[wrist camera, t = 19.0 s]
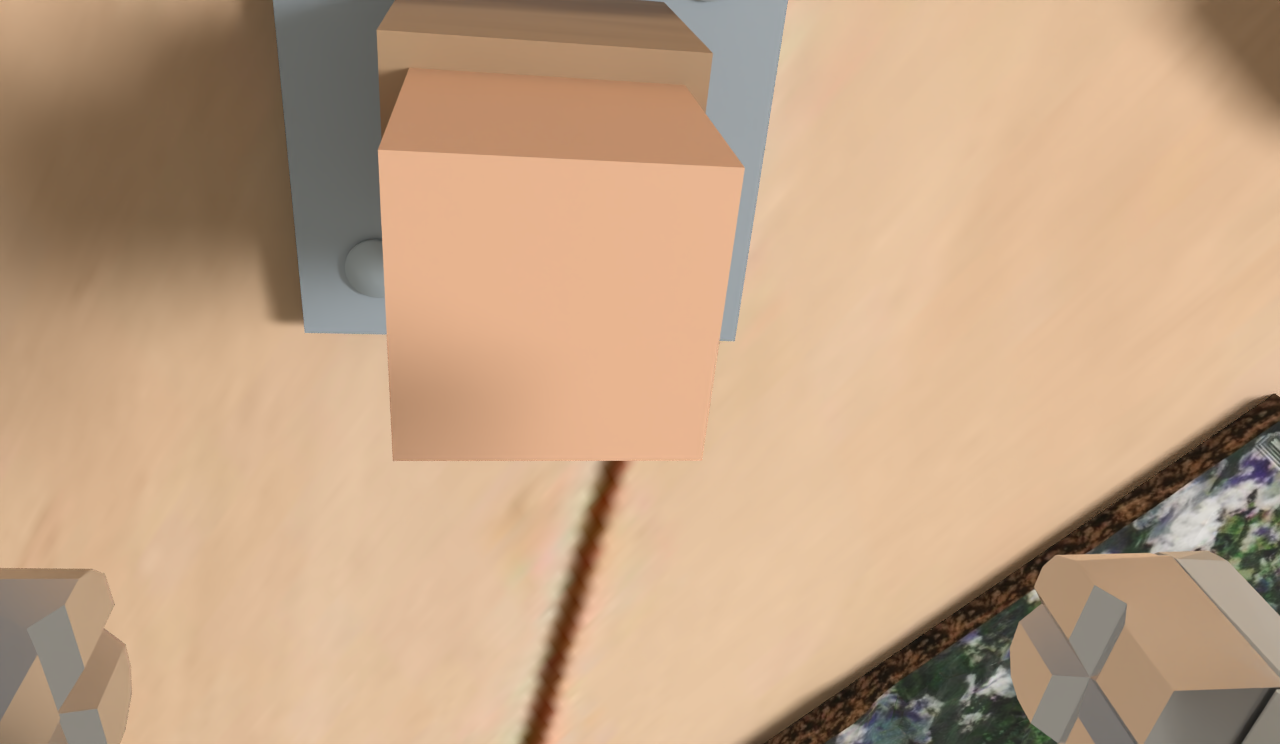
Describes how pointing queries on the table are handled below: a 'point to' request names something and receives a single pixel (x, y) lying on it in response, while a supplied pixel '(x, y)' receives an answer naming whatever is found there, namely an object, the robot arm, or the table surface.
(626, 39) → the block
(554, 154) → the block
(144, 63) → the table surface
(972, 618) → the topographical map
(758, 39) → the plate
